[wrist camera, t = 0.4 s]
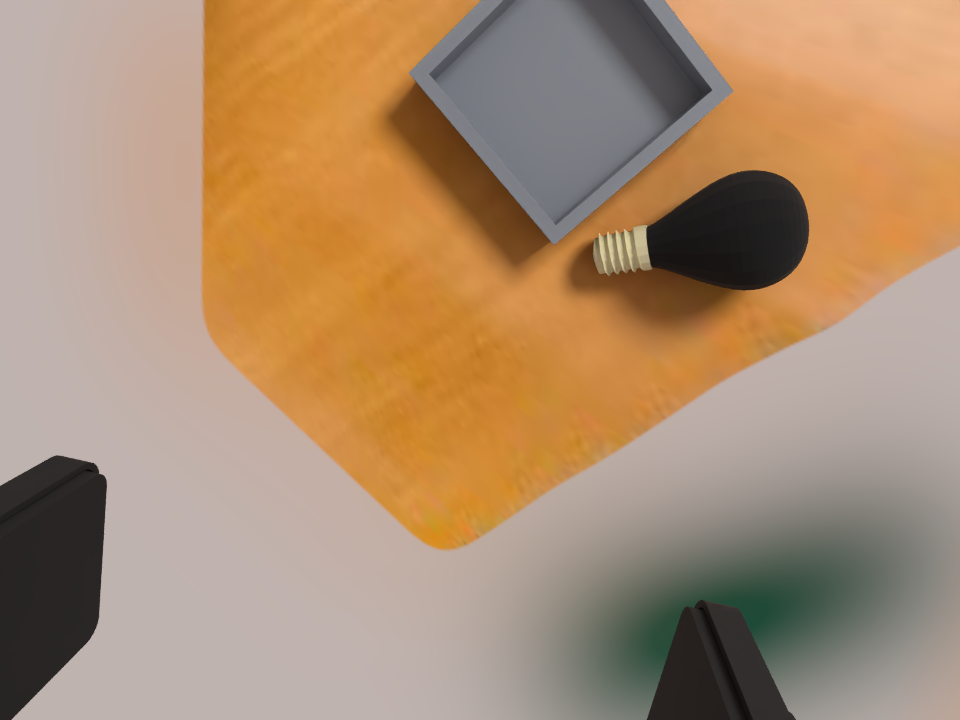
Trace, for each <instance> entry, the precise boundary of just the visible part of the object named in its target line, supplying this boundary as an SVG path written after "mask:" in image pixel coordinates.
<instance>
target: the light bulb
mask: <svg viewBox="0 0 960 720" xmlns="http://www.w3.org/2000/svg"><path fill="white" fill-rule="evenodd" d="M808 236H809V220H808V214H807V210H806V206H805V203H804V200H803V198H802V196H801V194H800V192H799V191H798V190H797V188H796V187H795V186H794V185H793V184H792V183H791V182H790V181H788V180H787V179H785V178H784V177H782V176H779V175H777V174H774V173H770V172H766V171H757V170H751V171H741V172H737V173H734V174H730V175H728V176H726V177H723V178H721V179H719V180H717V181H715V182H713V183H712V184H710V185H708V186H707V187H705V188H704V189H702V190H701V191H699V192H698V193H696V194H695V195H693V196H692V197H690V198H689V199H688V200H686V201H685V202H683V203H682V204H681V205H679V206H678V207H677V208H675V209H674V210H673V211H671V212H670V213H669V214H667V215H666V216H664V217H663V218H662V219H660V220H659V221H657V222H656V223H654V224H652V225H650V226H648V227H647V225H641V226H636V227H633V230H632V231H630V232H628V231H626V230H625V229H624V232H623V233H618V232H617V230H616V232H615V234H613V235H611V234H609V232H607V235H606V236H601V235H600V233H599V235H598V238H595V239H594V246H593V261H594V264H595V266H596V268H597V270H598V272H599V273H600V274H604V273H607V275H608V276H610V275H611V273H612V272H615V273H616V274H617V275H619V273H620V271H624V272H625V273H626V274H627V273H628V270H630V269H631V270H633V272H634V273H635V272H636V269H638V268H641V269H642V270H643V271H646V270H652V269H653V267H656V268H661V269H665V270H668V271H671V272H675V273H677V274H680V275H683V276H686V277H689V278H692V279H695V280H698V281H701V282H705V283H708V284H711V285H715V286H719V287H723V288H729V289H735V290H755V289H761V288H764V287H768V286H770V285H773V284H775V283H777V282H779V281H781V280H782V279H784V278H785V277H787V276H788V275H789V274H791V273H792V271H793V270H794V269H795V268H796V267H797V266H798V264H799V263H800V261H801V260H802V257H803V255H804V253H805V250H806V247H807V243H808Z"/></svg>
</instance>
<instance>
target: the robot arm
mask: <svg viewBox="0 0 960 720" xmlns="http://www.w3.org/2000/svg"><path fill="white" fill-rule="evenodd" d="M106 490H107V482H106V478H105V476H104V475H101V474H99V470H98V468H97V466H96V465H95V464H94V463H90V462H86V461H82V460H77V459H73V458H68V457H64V456H54V457H51V458H49V459H48V460H46V461H44V462H42V463H40V464H39V465H37V466H35V467H33V468H31V469H30V470H28V471H26V472H24V473H22V474H21V475H19V476H17V477H15V478H14V479H12V480H10V481H8V482H6V483H5V484H3V485H1V486H0V720H12V718H13V717H14V716H15V715H16V714H17V713H18V712H19V711H20V710H21V709H22V708H23V707H24V706H25V705H26V704H27V703H28V702H29V701H30V700H31V699H32V698H33V697H34V696H35V695H36V694H37V693H38V692H39V691H40V690H41V689H42V688H43V687H44V686H45V685H46V684H47V683H48V682H49V681H50V680H51V679H52V678H53V677H54V676H55V675H56V674H57V673H58V672H59V671H60V670H61V669H62V668H63V667H64V666H65V665H66V663H68V662H69V661H70V659H71V658H72V657H73V656H74V655H75V654H76V653H77V652H78V651H79V650H80V649H81V648H82V647H83V646H84V645H85V644H86V643H87V642H88V641H89V640H90V638H91V636H92V635H93V633H94V631H95V629H96V626H97V623H98V619H99V606H100V589H101V573H102V555H103V540H104V523H105V506H106ZM647 720H796V719H795V718H794V716H793V715H792V714H791V713H790V712H788V710H787V708H786V705H785V703H784V702H783V699H782V697H781V695H780V693H779V691H778V689H777V687H776V685H775V682H774V680H773V678H772V677H771V674H770V672H769V670H768V668H767V666H766V664H765V662H764V659H763V657H762V655H761V653H760V651H759V649H758V647H757V645H756V643H755V641H754V638H753V636H752V634H751V632H750V630H749V628H748V626H747V624H746V622H745V620H744V618H743V616H742V613H741V612H740V611H739V609H738V608H735V607H731V606H726V605H721V604H717V603H712V602H708V601H703V600H700V601H698V603H697V604H696V605H695V608H692V607H685V608H684V610H683V611H682V614H681V617H680V620H679V623H678V626H677V629H676V632H675V635H674V638H673V641H672V644H671V648H670V650H669V653H668V657H667V660H666V663H665V666H664V669H663V672H662V675H661V678H660V682H659V684H658V687H657V690H656V693H655V696H654V699H653V703H652V706H651V709H650V712H649V715H648V718H647Z"/></svg>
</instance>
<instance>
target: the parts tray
mask: <svg viewBox="0 0 960 720" xmlns="http://www.w3.org/2000/svg"><path fill="white" fill-rule="evenodd" d="M409 74H410V75H411V76H412V77H413V79H414V80H415V81H416V82H417V83H418V85H419V86H420V87H421V88H422V89H423V90H424V92H425V93H426V94H427V95H428V96H429V98H430V99H431V100H432V101H433V102H434V103H435V105H436V106H437V107H438V108H439V109H440V111H441V112H442V113H443V114H444V115H445V117H446V118H447V119H448V120H449V121H450V122H451V124H452V125H453V126H454V127H455V128H456V130H457V131H458V132H459V133H460V134H461V135H462V137H463V138H464V139H465V140H466V141H467V143H468V144H469V145H470V146H471V147H472V149H473V150H474V151H475V152H476V153H477V154H478V156H479V157H480V158H481V159H482V160H483V162H484V163H485V164H486V165H487V166H488V167H489V169H490V170H491V171H492V172H493V173H494V175H495V176H496V177H497V178H498V179H499V181H500V182H501V183H502V184H503V185H504V186H505V188H506V189H507V190H508V191H509V192H510V194H511V195H512V196H513V197H514V198H515V199H516V201H517V202H518V203H519V204H520V205H521V207H522V208H523V209H524V210H525V211H526V213H527V214H528V215H529V216H530V217H531V218H532V220H533V221H534V222H535V223H536V224H537V226H538V227H539V228H540V229H541V230H542V231H543V233H544V234H545V235H546V236H547V237H548V239H549V240H550V241H551V242H552V243H553V244H554V245H555V244H556V243H557V242H558V241H559V240H561V239H562V238H563V237H564V236H565V235H566V234H568V233H569V232H570V231H571V230H572V229H573V228H575V227H576V226H577V225H578V224H579V223H580V222H582V221H583V220H584V219H585V218H586V217H587V216H589V215H590V214H591V213H592V212H593V211H594V210H596V209H597V208H598V207H599V206H600V205H601V204H603V203H604V202H605V201H606V200H607V199H608V198H610V197H611V196H612V195H613V194H614V193H615V192H617V191H618V190H619V189H620V188H621V187H622V186H624V185H625V184H626V183H627V182H628V181H629V180H631V179H632V178H633V177H634V176H635V175H636V174H638V173H639V172H640V171H641V170H642V169H643V168H645V167H646V166H647V165H648V164H649V163H650V162H652V161H653V160H654V159H655V158H656V157H658V156H659V155H660V154H661V153H662V152H663V151H665V150H666V149H667V148H668V147H669V146H670V145H672V144H673V143H674V142H675V141H676V140H677V139H679V138H680V137H681V136H682V135H683V134H684V133H686V132H687V131H688V130H689V129H690V128H691V127H693V126H694V125H695V124H696V123H697V122H698V121H700V120H701V119H702V118H703V117H704V116H705V115H707V114H708V113H709V112H710V111H711V110H712V109H714V108H715V107H716V106H717V105H718V104H719V103H721V102H722V101H723V100H724V99H725V98H726V97H728V96H729V95H730V94H731V93H732V92H733V90H732V88H731V87H730V86H729V85H728V83H727V82H726V81H725V79H724V78H723V77H722V75H721V74H720V73H719V71H718V70H717V69H716V67H715V66H714V65H713V63H712V62H711V61H710V59H709V58H708V57H707V55H706V54H705V53H704V52H703V50H702V49H701V48H700V46H699V45H698V44H697V42H696V41H695V40H694V38H693V37H692V36H691V34H690V33H689V32H688V30H687V29H686V28H685V26H684V25H683V24H682V23H681V21H680V20H679V19H678V17H677V16H676V15H675V13H674V12H673V11H672V9H671V8H670V7H669V5H668V4H667V3H666V1H665V0H481V1H480V2H479V3H478V4H477V5H476V6H475V7H474V8H473V9H472V10H471V11H470V12H469V13H468V14H467V15H466V16H465V17H464V18H463V19H462V20H461V21H460V22H459V23H458V24H457V25H456V26H455V27H454V28H453V29H452V30H451V31H450V32H449V33H448V34H447V35H446V36H445V37H444V38H443V39H442V40H441V41H440V42H439V43H438V44H437V45H436V46H435V47H434V48H433V49H432V50H431V51H430V52H429V53H428V54H427V55H426V56H425V57H424V58H423V59H422V60H421V61H420V62H419V63H418V64H417V65H416V66H415V67H414V68H413V69H412V70H411V71H410V72H409Z"/></svg>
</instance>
